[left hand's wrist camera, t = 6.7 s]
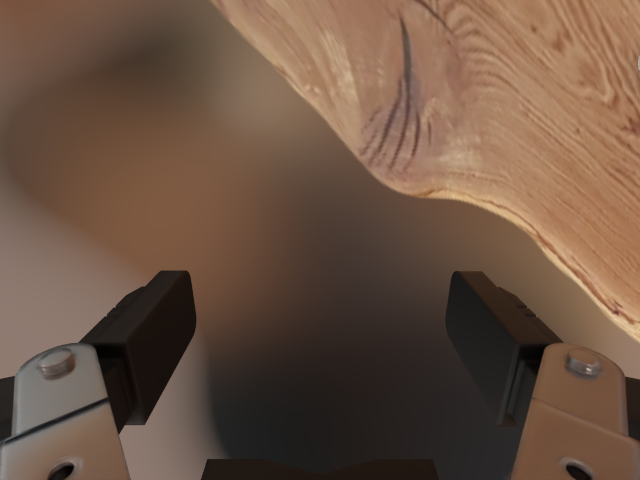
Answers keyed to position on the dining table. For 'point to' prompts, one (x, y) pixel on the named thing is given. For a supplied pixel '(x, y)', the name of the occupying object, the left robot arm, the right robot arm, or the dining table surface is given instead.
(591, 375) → the left robot arm
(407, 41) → the dining table surface
